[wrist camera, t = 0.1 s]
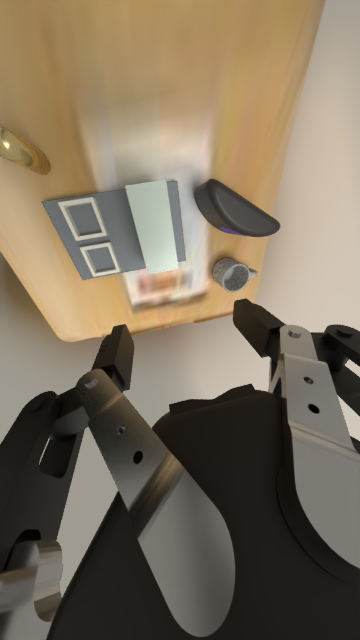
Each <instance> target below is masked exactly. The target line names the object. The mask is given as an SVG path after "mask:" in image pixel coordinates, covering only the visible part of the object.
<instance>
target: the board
mask: <svg viewBox="0 0 360 640" xmlns="http://www.w3.org/2000/svg"><path fill="white" fill-rule="evenodd" d="M167 190H168V197H169V204H170V211H171V218H172V225H173V232H174V240H175V247H176V254H177V261H178V262H181V261H186V256H185V247H184V237H183V228H182V219H181V210H180V201H179V192H178V183H177V181H175V182H168V183H167ZM42 204H43V206H44V208H45V210H46V211H47V213H48V215H49V217H50V219H51V221H52V223H53V225H54V227H55V228H56V230H57V232H58V234H59V236H60V238H61V240H62V242H63V244H64V246H65V247H66V249H67V251H68V253H69V255H70V257H71V259H72V261H73V263H74V265H75V266H76V268H77V270H78V272H79V274H80V276H81V278H82V280H86V279H91V278H97V277H102V276H107V275H113V274H118V273H123V272H128V271H134V270H139V269H144V268H146V265H145V261H144V257H143V253H142V249H141V246H140V242H139V238H138V234H137V230H136V226H135V223H134V219H133V215H132V211H131V207H130V204H129V200H128V196H127V192H126V189H122V190H116V191H109V192H103V193H96V194H89V195H83V196H76V197H70V198H63V199H56V200H50V201H43V202H42Z"/></svg>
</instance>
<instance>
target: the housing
mask: <svg viewBox="0 0 360 640" xmlns="http://www.w3.org/2000/svg"><path fill="white" fill-rule="evenodd" d="M125 188H126V192H127V196H128V200H129V204H130V207H131V211H132V215H133V219H134V223H135V226H136V230H137V234H138V238H139V242H140V246H141V249H142V253H143V257H144V261H145V265H146V268H147V272H148V274H153V273H159V272H164V271H169V270H174V269H179V268H178V261H177V254H176V247H175V240H174V232H173V225H172V218H171V211H170V204H169V197H168V190H167V183H166V180H159V181H152V182H146V183H139V184H132V185H126V186H125Z"/></svg>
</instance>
